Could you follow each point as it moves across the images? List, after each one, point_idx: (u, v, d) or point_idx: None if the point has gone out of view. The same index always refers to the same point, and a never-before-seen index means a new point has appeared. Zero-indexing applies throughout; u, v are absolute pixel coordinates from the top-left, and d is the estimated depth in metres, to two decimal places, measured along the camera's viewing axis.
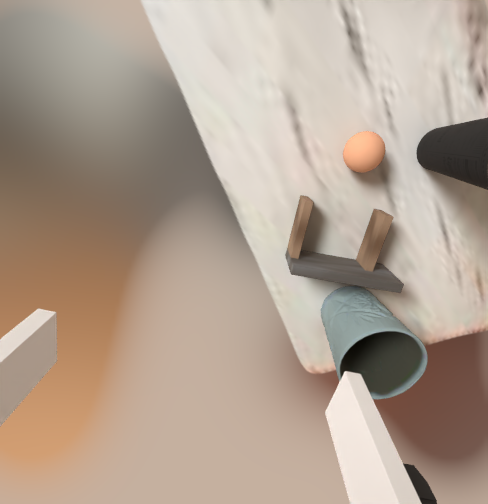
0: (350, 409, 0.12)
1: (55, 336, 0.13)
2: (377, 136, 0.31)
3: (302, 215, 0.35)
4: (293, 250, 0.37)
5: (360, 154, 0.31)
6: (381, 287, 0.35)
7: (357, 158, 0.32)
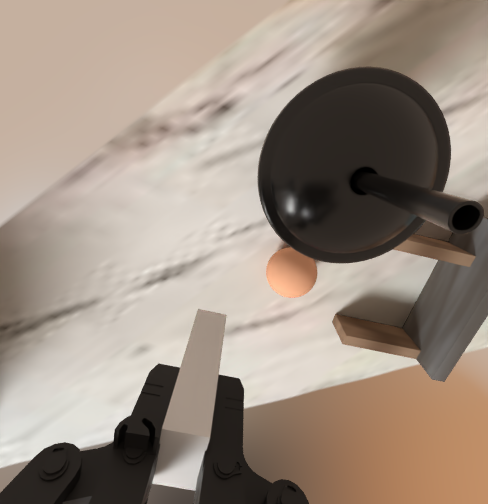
0: None
1: None
2: (274, 268, 0.24)
3: (360, 346, 0.27)
4: (406, 355, 0.27)
5: (294, 293, 0.24)
6: None
7: (299, 294, 0.24)
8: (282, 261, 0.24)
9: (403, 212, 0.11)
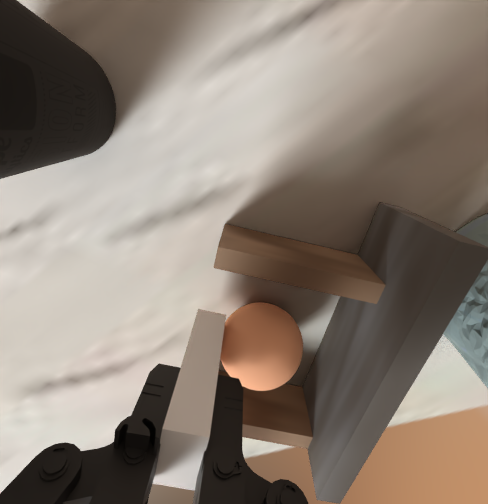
0: None
1: None
2: (301, 354, 0.15)
3: None
4: (291, 443, 0.16)
5: None
6: (446, 313, 0.10)
7: None
8: (300, 336, 0.15)
9: None
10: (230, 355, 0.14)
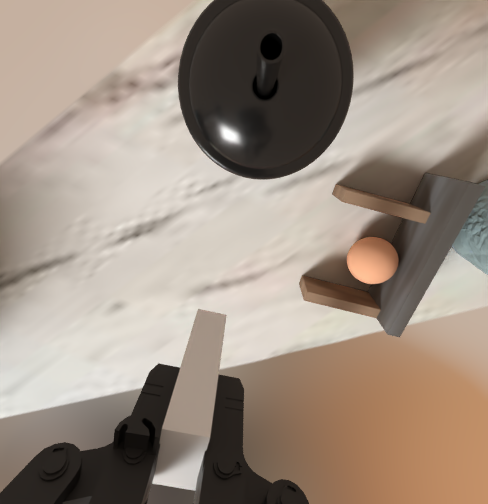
0: None
1: None
2: None
3: (322, 303, 0.28)
4: (367, 314, 0.28)
5: None
6: (463, 218, 0.22)
7: None
8: None
9: (308, 121, 0.12)
10: (382, 270, 0.25)
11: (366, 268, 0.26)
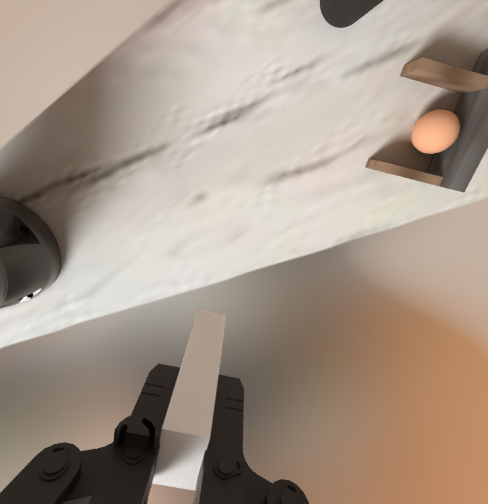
0: None
1: None
2: None
3: (392, 172, 0.32)
4: (431, 182, 0.32)
5: None
6: None
7: None
8: None
9: None
10: (447, 130, 0.29)
11: (432, 131, 0.30)
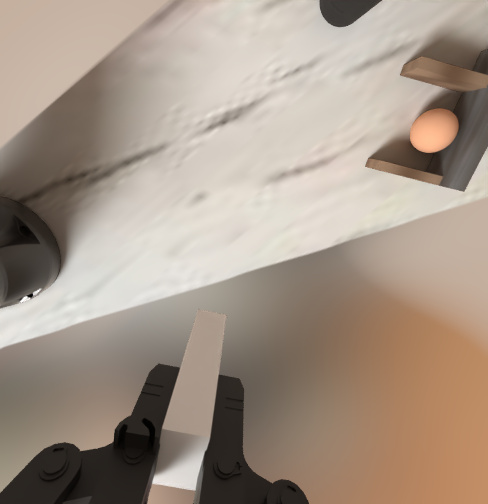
0: None
1: None
2: None
3: (392, 172, 0.32)
4: (431, 182, 0.32)
5: None
6: None
7: None
8: None
9: None
10: (445, 129, 0.29)
11: (430, 130, 0.30)
